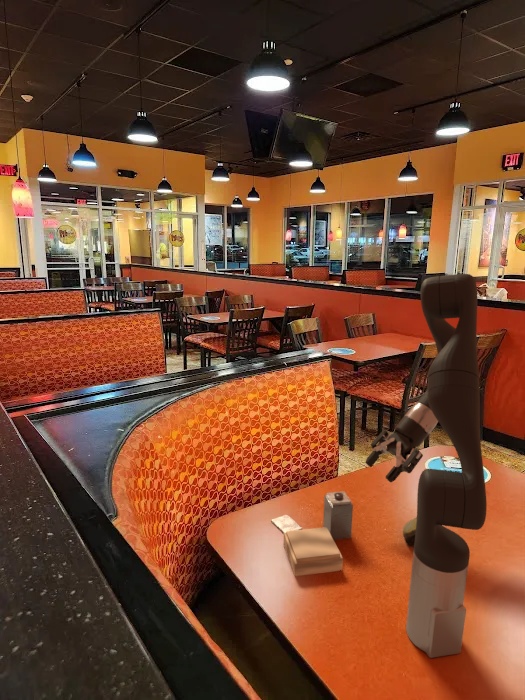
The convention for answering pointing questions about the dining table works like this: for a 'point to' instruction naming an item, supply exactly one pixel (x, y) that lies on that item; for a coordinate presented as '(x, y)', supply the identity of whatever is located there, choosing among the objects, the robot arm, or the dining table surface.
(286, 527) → the cover plate
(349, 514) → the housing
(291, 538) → the stand
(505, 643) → the dining table surface
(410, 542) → the claw
